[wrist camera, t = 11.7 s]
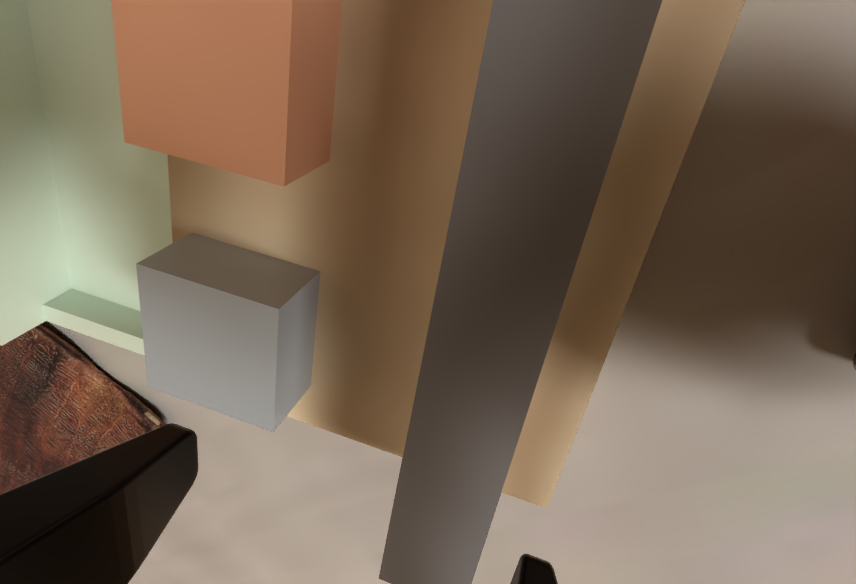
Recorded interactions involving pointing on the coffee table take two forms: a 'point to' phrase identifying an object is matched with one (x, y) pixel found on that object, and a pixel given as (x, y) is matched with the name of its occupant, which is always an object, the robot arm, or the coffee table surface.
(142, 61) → the terracotta tile
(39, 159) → the tray
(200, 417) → the coffee table surface
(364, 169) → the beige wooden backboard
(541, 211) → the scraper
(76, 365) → the wooden tablet
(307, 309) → the grey square block
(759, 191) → the coffee table surface
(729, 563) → the coffee table surface
